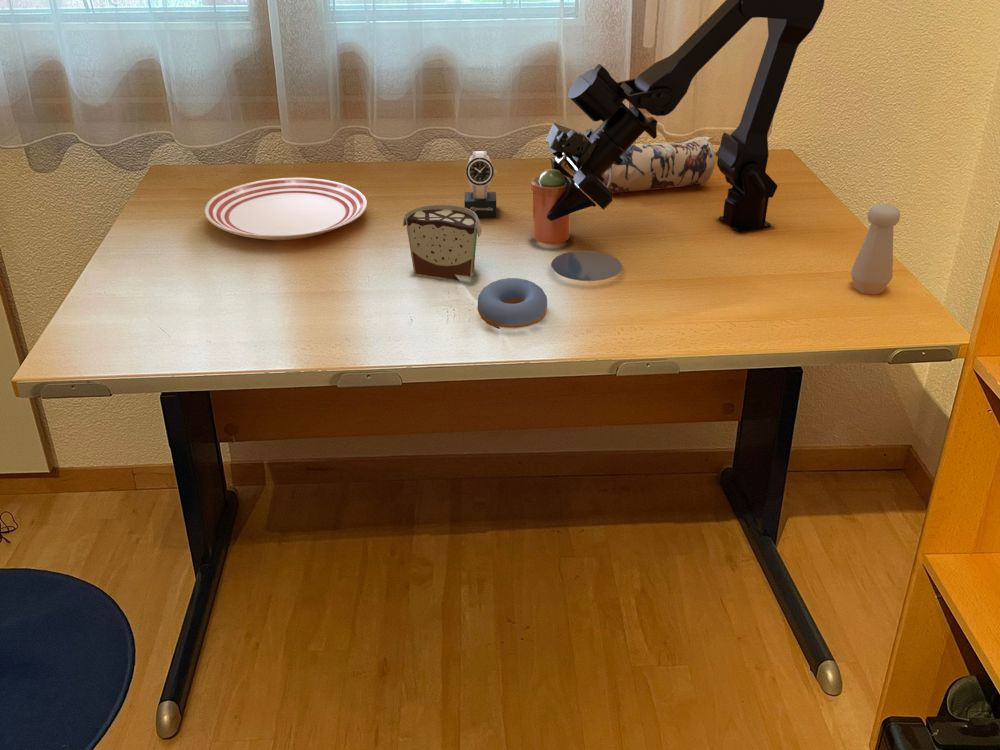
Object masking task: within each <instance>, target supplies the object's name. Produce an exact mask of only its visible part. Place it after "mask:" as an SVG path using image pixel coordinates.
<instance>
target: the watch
mask: <svg viewBox="0 0 1000 750" xmlns="http://www.w3.org/2000/svg"><path fill="white" fill-rule="evenodd" d="M497 174H498V171H497V169H495V166H494V164H493V163H492V161H491V158H490V155H487V151H486V150H474V151H472V155H470V157H469V159H468V163H466V166H465V177H466V179H467V182H468V184H469V187H470V190H471V191H465V192H464V207H465V208H468V209H470V210H472V211H473V212H475V213H476V215H477V216H478V219H497V191H488V190H490V189H491V185H492V183H493V179H494V177H495V175H497ZM472 190H473V191H472Z"/></svg>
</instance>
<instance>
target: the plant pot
mask: <svg viewBox="0 0 1000 750" xmlns="http://www.w3.org/2000/svg"><path fill="white" fill-rule="evenodd" d="M567 177H568V176H565V175H563V173H562V172H560V171H559V170H557V169H552V168H548V169H545V170H543V171H542V172H541V174H539V175H536V176H534V177H533V178H532V179H531V181H530V188H531V189H530V190H531V192H532V237H533V239H534V240H535V241H537V242H540V243H544V244H560V243H563V242H566V241H568V240H569V238H570V228H571V213H570V214H568V215H565V216H563V217H560V218H558V219H555V220H553V221H550V220H549V219H548V218H547V217H546V216H547V214H548V213H549V211H550V210H551V208H552V207H553V206H554V205H555V203H556V202H557V201H558V199H559V198H560V197H561V195H562V194H563V193H564V191H565V190H566V178H567ZM568 178H569V179H570V180H572V179H571V178H570V177H568Z"/></svg>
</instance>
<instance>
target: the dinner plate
mask: <svg viewBox="0 0 1000 750" xmlns="http://www.w3.org/2000/svg"><path fill="white" fill-rule="evenodd" d="M367 207H368V201H367V197H366V196H365V195H364V194H363V193H362V192H361V191H359V190H358V189H356V188H355V187H353V186H350V185H348V184H345V183H342V182H338V181H335V180H334V181H333V180H330V179H322V178H316V177H315V178H314V177H313V178H312V177H280V178H270V179H261V180H256V181H252V182H247V183H243V184H240V185H236V186H234V187H231V188H229V189H226V190H223V191H221V192H219V193H218V194H216V195H214V196H212V198H211V199H210V200H208V201H207V203H206V204H205V207H204V216H205V217H206V220H208V221H209V223H211V224H212V225H213V226H214V227H216V228H218V229H220V230H223V232H224V231H225V232H227V233H230V234H233V235H236V236H240V237H245V238H249V239H250V238H251V239H257V240H268V241H292V240H293V241H294V240H300V239H301V240H303V239H308V238H312V237H315V236H319V235H322V234H326V233H329V232H331V231H335V230H337V229H339V228H341V227H343V226H345V225H348V224H350V223H352V222H354V221H356V220H357V219H358V218H360V217H361V216H362V215H363V214H364V213H365V212H366V209H367Z"/></svg>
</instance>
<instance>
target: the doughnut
mask: <svg viewBox="0 0 1000 750" xmlns="http://www.w3.org/2000/svg"><path fill="white" fill-rule="evenodd" d="M476 309H477V312H478V314H479V316H480V318H481V320H482V321H484V322H485V323H486V324H487V325H489V326H491V327H493V328H495V329H496V330H497V329H498V330H501V327H503V328H523V327H527V326H531V325H534V324H537V323H538V322H539V321H541V320H542V319H543V318H544V317H545V315H546V313H547V310H548V297H547V295H546V293H545V291H544V290H543V288H542V287H540V286H539V285H538V284H537V283H535V282H534V281H531V280H528V279H524V278H519V277H506V278H501V279H497V280H495V281H492V282H490V283H488V284H487V285H486V286H485V287H483V288H482V290H481V291H480V292H479V294H478V296H477V307H476Z"/></svg>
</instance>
